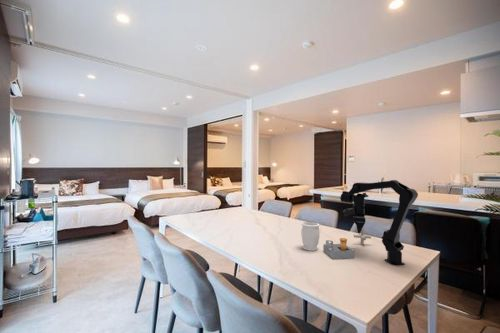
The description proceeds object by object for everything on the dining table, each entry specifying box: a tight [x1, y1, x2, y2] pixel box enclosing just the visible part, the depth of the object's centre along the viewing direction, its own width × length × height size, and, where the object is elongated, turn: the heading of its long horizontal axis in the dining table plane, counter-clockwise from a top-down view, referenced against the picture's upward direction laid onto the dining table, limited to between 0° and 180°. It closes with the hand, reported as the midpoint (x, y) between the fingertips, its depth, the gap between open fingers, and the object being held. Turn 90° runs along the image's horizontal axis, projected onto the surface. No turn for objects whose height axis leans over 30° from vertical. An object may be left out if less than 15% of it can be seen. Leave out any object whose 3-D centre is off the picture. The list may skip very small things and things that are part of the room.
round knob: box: [339, 237, 348, 250], centre depth 132 cm, size 4×4×8 cm
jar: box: [301, 221, 321, 252], centre depth 143 cm, size 11×10×15 cm
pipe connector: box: [353, 228, 372, 246], centre depth 152 cm, size 10×10×10 cm
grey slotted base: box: [323, 239, 355, 260], centre depth 133 cm, size 12×12×6 cm
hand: (358, 231), depth 138 cm, fingers open, 9 cm apart
